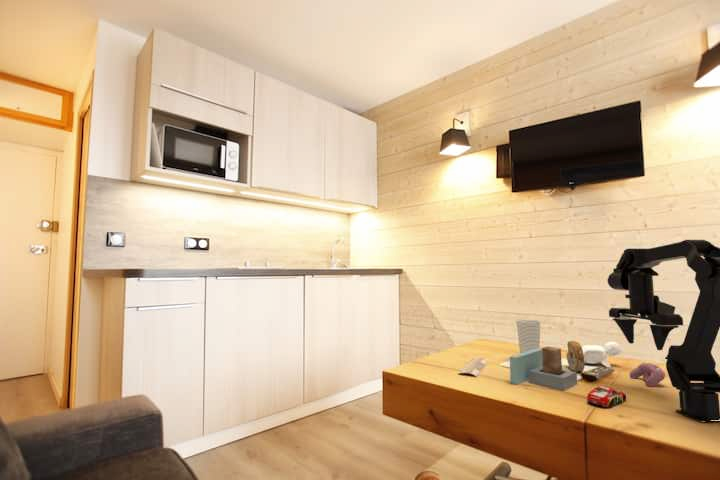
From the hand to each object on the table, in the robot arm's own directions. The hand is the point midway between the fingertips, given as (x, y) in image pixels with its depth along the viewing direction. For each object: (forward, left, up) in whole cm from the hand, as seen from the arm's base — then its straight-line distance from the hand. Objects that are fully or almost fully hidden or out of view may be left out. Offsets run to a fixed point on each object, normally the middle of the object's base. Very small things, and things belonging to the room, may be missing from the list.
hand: (644, 346), depth 101 cm
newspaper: (+30, +38, -14) cm, 50 cm away
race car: (-5, +16, -14) cm, 22 cm away
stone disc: (+24, +4, -13) cm, 28 cm away
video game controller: (+10, -9, -13) cm, 19 cm away
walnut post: (+11, +21, -12) cm, 27 cm away
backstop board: (+17, +25, -13) cm, 33 cm away
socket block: (+11, +21, -13) cm, 27 cm away
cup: (+36, +14, -13) cm, 41 cm away
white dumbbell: (+31, -10, -13) cm, 35 cm away
